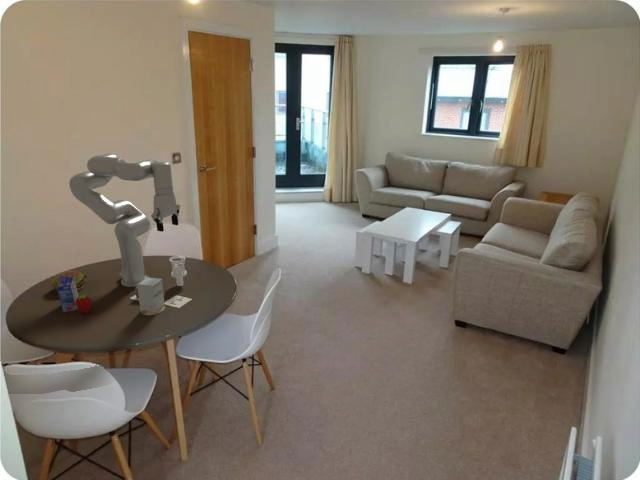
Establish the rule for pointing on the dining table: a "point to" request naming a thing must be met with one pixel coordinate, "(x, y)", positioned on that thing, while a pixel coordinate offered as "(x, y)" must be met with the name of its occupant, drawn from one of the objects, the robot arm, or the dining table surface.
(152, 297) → the supplement box
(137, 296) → the walnut block
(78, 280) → the food
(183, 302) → the code tile
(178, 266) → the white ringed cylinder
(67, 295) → the ink cartridge box
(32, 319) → the dining table surface
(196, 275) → the dining table surface
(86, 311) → the strawberry
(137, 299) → the code tile
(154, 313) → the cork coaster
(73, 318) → the dining table surface
